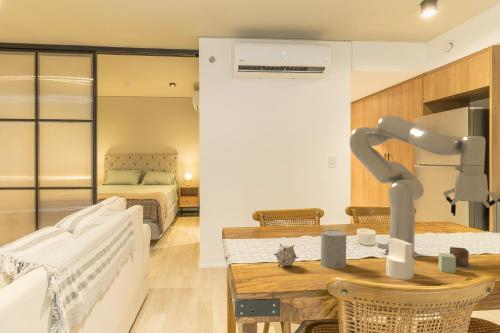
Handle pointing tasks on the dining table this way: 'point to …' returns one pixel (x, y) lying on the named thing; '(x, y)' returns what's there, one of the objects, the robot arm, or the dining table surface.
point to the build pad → (467, 267)
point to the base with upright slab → (400, 260)
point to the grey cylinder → (333, 249)
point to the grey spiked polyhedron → (285, 255)
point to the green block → (447, 262)
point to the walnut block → (460, 256)
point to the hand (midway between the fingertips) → (469, 216)
